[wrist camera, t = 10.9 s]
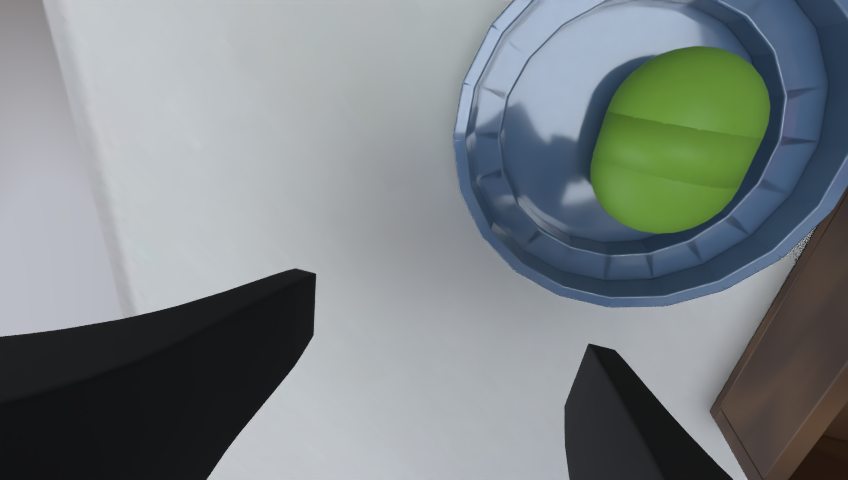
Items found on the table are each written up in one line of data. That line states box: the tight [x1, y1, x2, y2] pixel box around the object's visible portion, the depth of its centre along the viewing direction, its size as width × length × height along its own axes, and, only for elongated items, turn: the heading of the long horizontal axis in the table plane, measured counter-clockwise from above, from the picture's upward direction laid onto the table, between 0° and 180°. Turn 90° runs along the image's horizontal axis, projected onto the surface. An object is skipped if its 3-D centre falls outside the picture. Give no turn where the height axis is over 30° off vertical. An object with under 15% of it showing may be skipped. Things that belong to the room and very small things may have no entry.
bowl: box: [453, 0, 848, 307], centre depth 15 cm, size 13×13×4 cm
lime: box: [590, 46, 770, 234], centre depth 14 cm, size 6×5×5 cm
